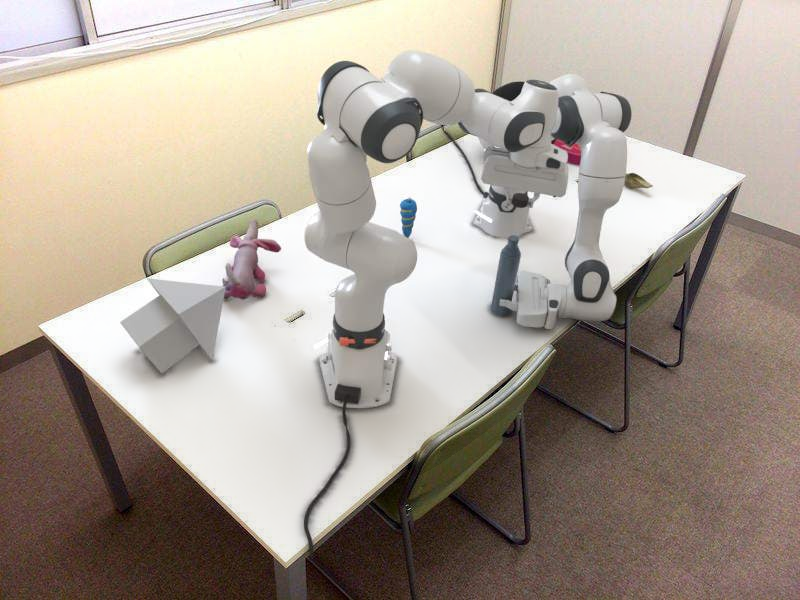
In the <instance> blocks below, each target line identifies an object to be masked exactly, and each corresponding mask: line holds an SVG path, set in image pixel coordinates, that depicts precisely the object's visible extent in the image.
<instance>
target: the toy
mask: <svg viewBox="0 0 800 600" xmlns="http://www.w3.org/2000/svg"><path fill="white" fill-rule="evenodd" d="M229 241H230V242H229V247H231V248H233V249H237V251H236V252H235V255H234V256H233V257H234V258H233V265H231V264H230V263H229V262H227V263H226V264H225V266H224V267H225V274H226V276H227V280H226V279H225V278H224V277H222V285H221V286H223V287H226V288H225V294H224V299H225V300H227V299H228V298H231V297H232V298H235V299H240V300H243V301H244V300H246V299H248V298H249V297H253V298H256V297H257V298H262V297H264V296H265V295H266V293H267V287H266V285H265V284H263V283H264V281H265V280H266V273H265V271H264V270H263V269H261V267H260V266H259V256H258V250H259V249H258V248H261V249H263V250H265V251H268V252H271V253H280V252H281V251H282V247H281V245H280V244H279V243H278V242H277V240H275V239H272V238H259V221H258V220H257V219H256V218H252V219H251V220H250V221H249V224H248V228H247V230H246V233H245V234H244V237H243V239H242V238H241V237H240V236H239V235H233V236H232V237H230V240H229ZM255 281H256V282H258V283H259V284H257V285H256V282H255Z"/></svg>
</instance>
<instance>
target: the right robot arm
mask: <svg viewBox="0 0 800 600" xmlns="http://www.w3.org/2000/svg"><path fill="white" fill-rule="evenodd" d="M548 83H549V84H551V85H554V86H555V87H556V88H557V89H558V95H559V99H558V110H557V116H556V121H555V125H554V127H553V129H552V132H551V141H552V140H554V139H557V140H559V141H562V142H564V143H565V144H566V145H567V146H572V145H574V144H575V143H577V144H578V145H579V147H580V149H581V162H580V165H579V169H578V178H577V197H578V215H577V223H576V229H575V236H574V239H573V242H572V244H571V246H570V247H569V249H568V251H567V252H566V255H565V256H564V257H565V258H564V267H565V269H566V271H567V273H568V275H569V278H570V283H569V284H568V285H567V284H566V285H564V284H557V283H552V282H551V280H550V279H549V278H548V277H547V276H544V275H542V274H540V273H537V272H532V271H528V270H520V271H518V273H517V278H516V283H515V288H514V292H516V294H515V295H516V300H514V301H512V302H511V301H509V300H507V298H502V297H501V298H500V303H499V305H500V306H505V307H507V308H509V309H510V311H515V312H516V323H517V324H518V325H520V326H523V327H528V328H545V329H547V330H552V329H554V326H555V324H556V322H557V320H558V319H573V320H576V321H581V322H595V323H599V322H605V321H606V322H607V321H608V320H609V319H610V318H612V316H613V315H614V313H615V310H616V307H617V301H618V298H617V295H616V293H615V292H614V290H613V287H612V283H611V277H610V270H609V266H608V265H607V262H606V261H605V259H604V257H603V254H602V252H601V249H600V248H601V247H600V238H601V232H602V226H603V220H604V216H605V214H606V212H607V211H608V210H609V209H612V207H614V206H616V205H617V204H618V203H619V202H620V199H621V197H622V194H623V189H624V187H625V176H626V173H627V167H628V142H627V141H628V140H627V136H626V135H625V132H626V131H627V130H628V128H629V126H630V124H631V121H632V115H633V114H632V107H631V103H630V102H629V100H628V99H627V98H626V97H624V96H622V95H619V94H616V93H613V92H606V91H600V92H595V93H593V92H591V91H590V89H589V85H588V83H587V81H586V80H585V78H583V77H582V76H581V75H579V74H576V73H567V74H563V75H561V76H559V77H557V78H555V79H553V80H550V81H549V82H548ZM446 131H447V130H446ZM446 131H443V132H444V133H445V134H446V136H448V138H449V139H450V141H452V143H453V144H454V145H455V146H456V148H457V149H458V150H459V152H460V153H461V155H462V157H463V158H464V160H465V162H466V164H467V166H468V168H469V170H470V173H471V175H472V178H473V181H474V184H475V186H476V187H477V189H478V191H479V192H480V194H482V195H483V196H482V197H481V202H480V203H481V207H480V208H479V210H475V211H474V213H475V214H476V217H475V218H474V220H473V225H474V226H476V227H478V228H480V229H481V230H483V232H485V233H486V234H488V235H491V236H493V237H496V238H501V239H508V237H509V236H511V235H515V236H517V237H520V236H521V235H523V234H526V233H529V232H531V231H532V230H533V227H532V224H531V222H530V219H529V215H530V209H531V208H528V207H525V208H518V207H515V206H513V205H512V204H506V199H507V197H506V196H505V193H504V191H503V189H504V187H501V186H495V185H489V188H488V191H485V192H484V191H483V189H482V188H481V186H480V184H479V183H478V180H477V178H476V174H475V172H474V169H473V167H472V165H471V163H470V160H469V159H468V157H467V156H466V153H465V151H463V150H462V148H461V146H460V145H459V144H458V143H457V142H456V140H455V139H454V138H453V137H452V135H450V133H449V132H448V131H447V132H446ZM477 139H478V141H479V143H480V145H481V146H482V147H483V148H484V150H485V149H486V148H488V147H491V146H495V145H493V144H491V143H489V142H487V141H485V140H483V139H481V138H478V137H477ZM509 192H510V195H514V194H515V193H523V194H526V195H527V196H528V197H529V192H528V191H523V190H517V189H512V188H510V190H509Z"/></svg>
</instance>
